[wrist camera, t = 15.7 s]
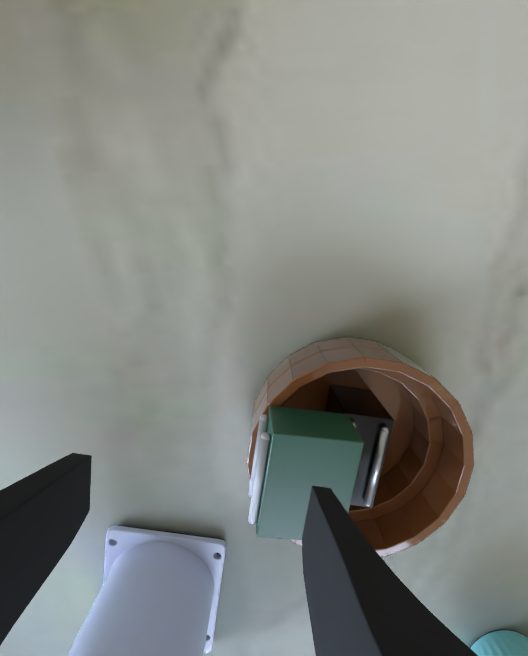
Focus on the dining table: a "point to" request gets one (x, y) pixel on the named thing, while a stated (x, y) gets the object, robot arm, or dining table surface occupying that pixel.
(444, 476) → the bowl
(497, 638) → the cupcake
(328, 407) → the black clip
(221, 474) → the dining table surface
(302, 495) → the green clip
